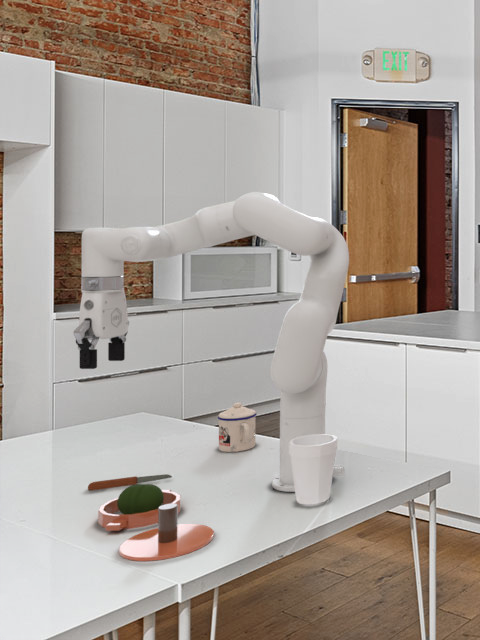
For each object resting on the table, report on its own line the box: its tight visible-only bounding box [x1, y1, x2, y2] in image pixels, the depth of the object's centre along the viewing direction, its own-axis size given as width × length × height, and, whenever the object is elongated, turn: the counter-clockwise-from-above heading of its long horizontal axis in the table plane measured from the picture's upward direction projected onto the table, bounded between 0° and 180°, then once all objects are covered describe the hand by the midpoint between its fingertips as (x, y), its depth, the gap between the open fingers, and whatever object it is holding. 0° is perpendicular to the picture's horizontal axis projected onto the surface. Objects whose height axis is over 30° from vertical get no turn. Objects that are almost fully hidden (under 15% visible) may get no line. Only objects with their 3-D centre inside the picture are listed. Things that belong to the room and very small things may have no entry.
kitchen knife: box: [87, 474, 173, 491], centre depth 163 cm, size 16×1×2 cm, turn 119°
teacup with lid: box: [217, 402, 257, 453], centre depth 192 cm, size 12×9×12 cm
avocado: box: [117, 483, 164, 514], centre depth 145 cm, size 8×6×6 cm
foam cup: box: [289, 433, 338, 506], centre depth 154 cm, size 10×9×13 cm
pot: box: [97, 489, 182, 532], centre depth 145 cm, size 14×19×3 cm
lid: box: [118, 504, 215, 562], centre depth 132 cm, size 15×15×7 cm
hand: (102, 364), depth 158 cm, fingers open, 9 cm apart
